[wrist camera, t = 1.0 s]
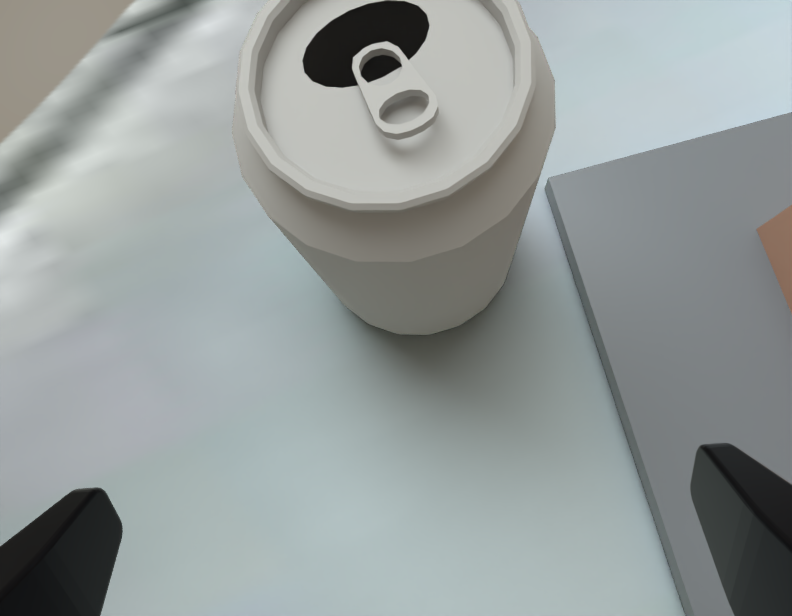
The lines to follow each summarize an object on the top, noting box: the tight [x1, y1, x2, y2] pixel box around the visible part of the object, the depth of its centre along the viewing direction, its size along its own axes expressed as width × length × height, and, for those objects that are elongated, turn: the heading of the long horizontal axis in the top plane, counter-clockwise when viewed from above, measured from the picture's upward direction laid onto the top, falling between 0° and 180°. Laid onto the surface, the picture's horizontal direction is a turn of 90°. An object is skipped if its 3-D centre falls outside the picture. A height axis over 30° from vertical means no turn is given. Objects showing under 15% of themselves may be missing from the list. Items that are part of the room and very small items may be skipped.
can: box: [232, 0, 556, 335], centre depth 18 cm, size 8×8×12 cm
